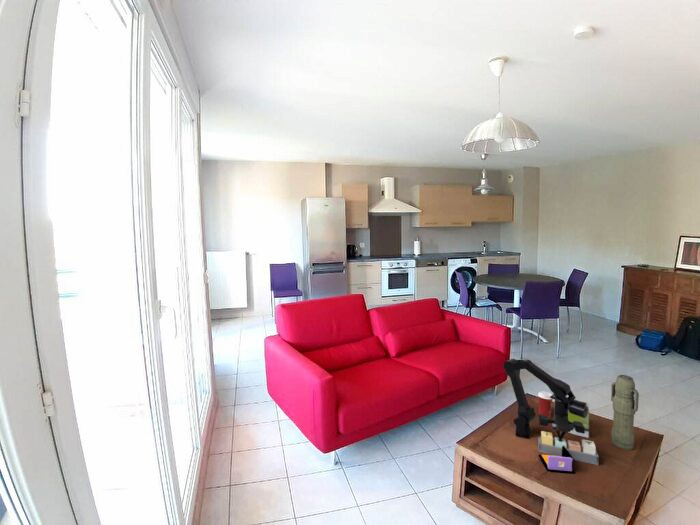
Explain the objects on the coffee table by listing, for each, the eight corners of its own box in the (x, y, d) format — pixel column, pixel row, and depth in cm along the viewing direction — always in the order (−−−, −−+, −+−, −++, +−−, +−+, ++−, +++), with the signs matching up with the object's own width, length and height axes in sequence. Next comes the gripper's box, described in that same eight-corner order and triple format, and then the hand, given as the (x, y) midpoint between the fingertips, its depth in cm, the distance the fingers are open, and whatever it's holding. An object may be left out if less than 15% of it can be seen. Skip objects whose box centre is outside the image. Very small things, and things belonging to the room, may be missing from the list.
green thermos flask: (614, 436, 180) (617, 371, 177) (640, 448, 169) (644, 379, 167) (603, 440, 177) (606, 373, 174) (630, 453, 166) (633, 383, 163)
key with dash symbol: (568, 453, 164) (569, 444, 163) (567, 448, 168) (567, 439, 168) (580, 456, 162) (580, 447, 161) (578, 451, 166) (579, 442, 166)
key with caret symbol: (554, 450, 166) (555, 441, 166) (554, 445, 170) (554, 436, 170) (566, 453, 164) (566, 444, 164) (564, 448, 168) (565, 439, 168)
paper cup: (554, 421, 195) (555, 397, 194) (539, 420, 197) (540, 396, 196) (549, 414, 203) (550, 391, 202) (535, 413, 204) (536, 390, 203)
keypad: (538, 451, 168) (539, 443, 168) (538, 443, 174) (538, 436, 174) (598, 465, 158) (598, 456, 158) (595, 456, 164) (595, 448, 164)
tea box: (587, 429, 187) (588, 403, 186) (588, 438, 178) (589, 411, 177) (555, 421, 195) (556, 396, 194) (554, 430, 186) (555, 404, 185)
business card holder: (576, 475, 152) (577, 460, 152) (547, 472, 154) (547, 457, 154) (564, 457, 164) (565, 444, 163) (537, 455, 166) (538, 441, 165)
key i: (541, 444, 169) (541, 435, 168) (540, 439, 173) (541, 430, 172) (552, 446, 167) (552, 437, 166) (551, 441, 171) (551, 432, 170)
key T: (583, 453, 161) (583, 444, 161) (581, 447, 165) (582, 438, 165) (595, 456, 159) (595, 446, 159) (593, 450, 163) (593, 441, 163)
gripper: (540, 413, 163) (539, 444, 164) (587, 422, 154) (586, 455, 156) (538, 402, 173) (537, 432, 174) (583, 410, 164) (582, 441, 166)
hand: (560, 440), depth 167 cm, fingers closed
